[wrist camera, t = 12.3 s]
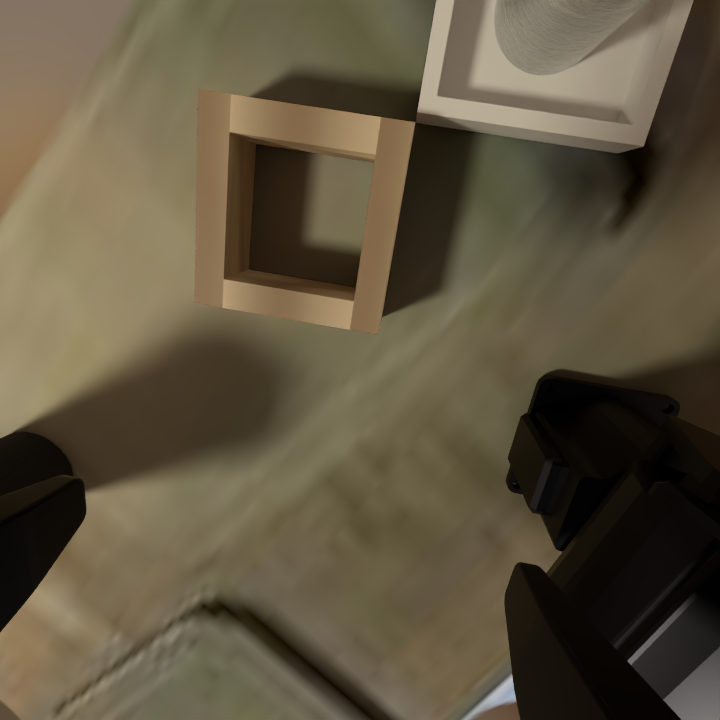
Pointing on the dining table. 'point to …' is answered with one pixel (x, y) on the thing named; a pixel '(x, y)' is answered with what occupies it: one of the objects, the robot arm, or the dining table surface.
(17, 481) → the drinking cup
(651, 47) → the tray
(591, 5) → the copper-capped peg
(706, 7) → the dining table surface
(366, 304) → the socket block
